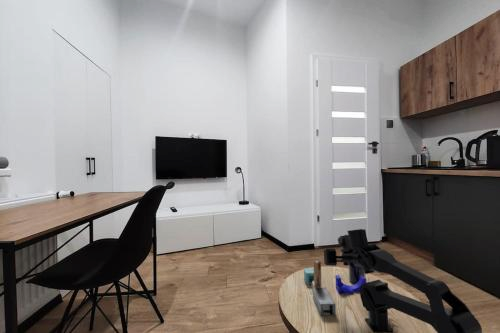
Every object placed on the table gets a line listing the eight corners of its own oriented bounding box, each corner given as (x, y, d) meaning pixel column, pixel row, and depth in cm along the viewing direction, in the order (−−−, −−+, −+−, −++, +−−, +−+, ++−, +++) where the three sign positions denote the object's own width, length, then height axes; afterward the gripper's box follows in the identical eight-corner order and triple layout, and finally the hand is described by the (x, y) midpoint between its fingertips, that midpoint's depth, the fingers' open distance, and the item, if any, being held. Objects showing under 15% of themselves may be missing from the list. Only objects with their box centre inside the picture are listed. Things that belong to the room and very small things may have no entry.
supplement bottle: (346, 279, 116) (345, 254, 116) (357, 277, 118) (356, 252, 118) (357, 286, 109) (356, 259, 109) (368, 283, 112) (367, 257, 112)
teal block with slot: (319, 283, 112) (319, 273, 112) (306, 284, 112) (306, 273, 112) (316, 279, 117) (316, 268, 117) (304, 279, 117) (303, 268, 117)
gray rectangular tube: (335, 315, 88) (335, 303, 88) (320, 315, 88) (320, 304, 88) (326, 297, 100) (325, 287, 100) (313, 298, 100) (312, 287, 100)
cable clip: (338, 293, 103) (338, 279, 103) (335, 288, 108) (335, 275, 108) (367, 294, 102) (367, 280, 102) (363, 289, 107) (363, 275, 107)
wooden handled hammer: (330, 310, 90) (329, 274, 90) (322, 310, 90) (321, 274, 90) (318, 286, 108) (317, 256, 108) (311, 286, 108) (310, 256, 108)
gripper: (377, 236, 94) (354, 238, 109) (332, 234, 92) (315, 236, 106) (381, 267, 91) (356, 265, 105) (335, 266, 88) (316, 263, 103)
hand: (336, 256), depth 105 cm, fingers open, 9 cm apart
